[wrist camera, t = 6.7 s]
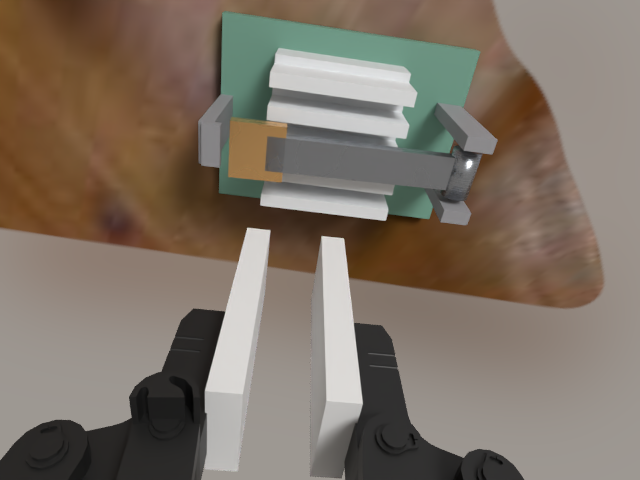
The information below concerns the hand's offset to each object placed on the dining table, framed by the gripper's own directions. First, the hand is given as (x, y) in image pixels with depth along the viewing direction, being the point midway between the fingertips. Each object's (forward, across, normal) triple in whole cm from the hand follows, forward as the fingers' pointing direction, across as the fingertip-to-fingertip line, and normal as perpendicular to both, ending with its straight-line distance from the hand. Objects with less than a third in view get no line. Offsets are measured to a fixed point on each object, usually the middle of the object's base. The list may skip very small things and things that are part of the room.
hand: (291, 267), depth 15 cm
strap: (+12, +3, 0) cm, 12 cm away
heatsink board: (+18, +2, 0) cm, 18 cm away
